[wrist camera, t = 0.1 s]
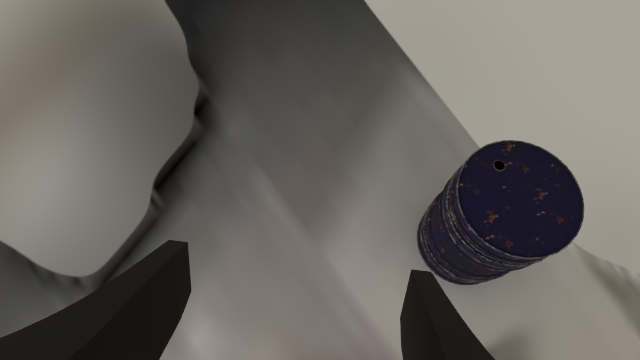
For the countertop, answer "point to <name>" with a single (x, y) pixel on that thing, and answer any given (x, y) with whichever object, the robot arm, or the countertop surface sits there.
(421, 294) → the robot arm
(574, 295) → the countertop surface
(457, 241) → the storage jar
